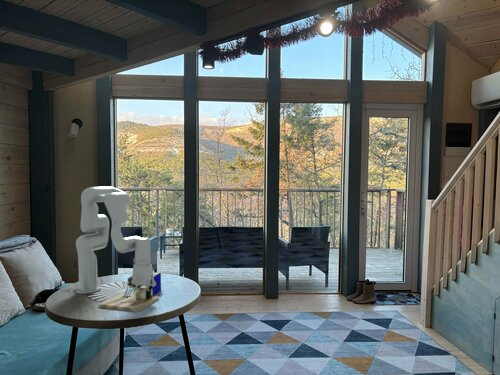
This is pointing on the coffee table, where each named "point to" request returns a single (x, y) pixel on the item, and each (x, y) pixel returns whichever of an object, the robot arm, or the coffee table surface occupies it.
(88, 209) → the robot arm
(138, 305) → the tan board with strips
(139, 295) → the block
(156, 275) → the puzzle cube
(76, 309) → the coffee table surface
